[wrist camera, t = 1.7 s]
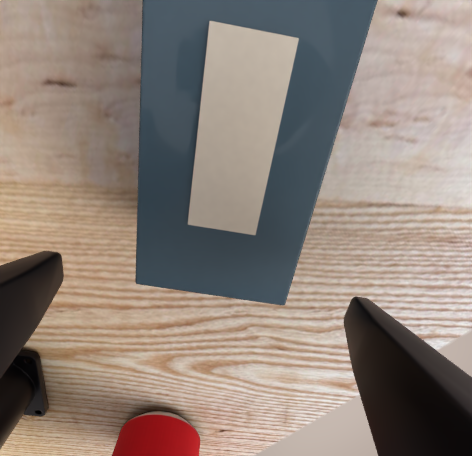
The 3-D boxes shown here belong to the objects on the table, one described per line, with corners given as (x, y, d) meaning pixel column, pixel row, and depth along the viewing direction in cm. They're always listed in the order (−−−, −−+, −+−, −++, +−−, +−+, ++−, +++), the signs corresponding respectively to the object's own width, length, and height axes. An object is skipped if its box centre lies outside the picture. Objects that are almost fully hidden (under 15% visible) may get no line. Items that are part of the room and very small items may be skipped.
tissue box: (273, 245, 17) (285, 308, 12) (164, 228, 16) (133, 286, 12) (343, -29, 11) (410, -101, 7) (185, -63, 11) (144, -162, 7)
